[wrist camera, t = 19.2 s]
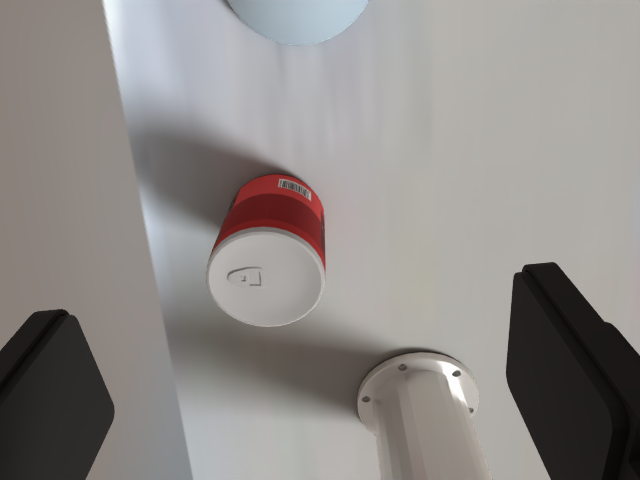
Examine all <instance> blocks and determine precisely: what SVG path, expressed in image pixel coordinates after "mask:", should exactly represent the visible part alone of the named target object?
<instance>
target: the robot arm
mask: <svg viewBox="0 0 640 480" xmlns="http://www.w3.org/2000/svg"><path fill="white" fill-rule="evenodd" d="M506 378H507V383H508V386H509V389H510V391H511V393H512V396H513V398H514V400H515V402H516V404H517V407H518V409H519V411H520V413H521V415H522V417H523V420H524V422H525V424H526V426H527V428H528V431H529V433H530V435H531V437H532V439H533V442H534V444H535V446H536V448H537V450H538V452H539V455H540V457H541V459H542V461H543V463H544V466H545V468H546V470H547V472H548V474H549V476H550V479H551V480H640V356H639V354H638V353H637V352H636V351H635V350H634V348H633V347H632V346H631V345H630V344H629V343H628V341H627V340H626V339H625V338H624V337H623V335H622V334H621V333H620V332H619V331H618V329H617V328H615V327H614V326H613V325H612V324H610V323H608V322H604V321H603V320H602V318H601V317H600V316H599V315H598V313H597V312H596V311H595V310H594V309H593V307H592V306H591V305H590V304H589V302H588V301H587V300H586V299H585V298H584V296H583V295H582V294H581V293H580V292H579V290H578V289H577V288H576V287H575V285H574V284H573V283H572V282H571V281H570V279H569V278H568V277H567V276H566V275H565V273H564V272H563V271H562V270H561V268H560V267H559V266H558V265H557V264H556V263H554V262H549V263H539V264H528V265H525V266H524V267H523V269H522V272H518V273H515V275H514V279H513V290H512V303H511V315H510V328H509V340H508V353H507V365H506ZM357 405H358V412H359V417H360V419H361V421H362V423H363V424H364V426H365V427H366V428H367V429H368V430H369V431H370V432H371V433H373V434H374V435H375V436H376V442H377V450H378V458H379V467H380V475H381V480H493V479H492V476H491V473H490V470H489V467H488V464H487V462H486V459H485V456H484V453H483V450H482V447H481V444H480V441H479V438H478V435H477V432H476V429H475V426H474V424H473V421H472V418H473V416H474V415H475V413H476V411H477V408H478V405H479V393H478V388H477V385H476V382H475V380H474V378H473V376H472V375H471V373H470V372H469V370H468V369H467V368H465V367H464V366H463V365H462V364H461V363H459V362H458V361H456V360H454V359H452V358H450V357H447V356H444V355H440V354H435V353H424V352H418V353H408V354H404V355H400V356H396V357H394V358H392V359H389V360H387V361H385V362H383V363H382V364H380V365H378V366H377V367H375V368H374V369H373V370H372V371H371V372H370V373H369V374H368V375H367V376H366V378H365V379H364V380H363V382H362V384H361V386H360V388H359V391H358V396H357ZM113 419H114V405H113V402H112V400H111V397H110V395H109V393H108V390H107V388H106V385H105V383H104V381H103V378H102V376H101V374H100V371H99V369H98V367H97V364H96V362H95V360H94V357H93V355H92V352H91V350H90V348H89V345H88V343H87V341H86V338H85V336H84V334H83V332H82V329H81V327H80V325H79V322H78V320H77V318H76V317H75V316H73V315H69V313H68V312H67V311H66V310H63V309H58V310H48V311H38V312H35V313H33V314H32V315H31V316H30V317H29V318H28V319H27V320H26V322H25V323H24V324H23V325H22V326H21V327H20V329H19V330H18V331H17V332H16V333H15V334H14V336H13V337H12V338H11V339H10V340H9V341H8V343H7V344H6V345H5V346H4V347H3V348H2V350H1V351H0V480H85V479H86V477H87V475H88V473H89V471H90V469H91V467H92V464H93V462H94V460H95V458H96V456H97V454H98V452H99V450H100V448H101V445H102V443H103V441H104V439H105V437H106V435H107V432H108V430H109V428H110V426H111V424H112V422H113Z"/></svg>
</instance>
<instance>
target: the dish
mask: <svg viewBox="0 0 640 480" xmlns="http://www.w3.org/2000/svg"><path fill="white" fill-rule="evenodd" d="M227 1H228V3H229V4H230V6H231V7H232V9H233V10H234V12H235V13H236V14H237V15H238V16H239V18H240V19H241V20H242V21H243V22H244V23H245V24H247V25H248V26H249V27H250V28H251V29H253V30H254V31H255V32H257V33H258V34H260V35H262V36H264V37H265V38H267V39H270V40H272V41H275V42H278V43H282V44H287V45H296V46H300V45H311V44H316V43H320V42H323V41H325V40H328V39H330V38H332V37H334V36H336V35H338V34H339V33H341V32H342V31H343V30H345V29H346V28H347V27H348V26H350V25H351V24H352V23H353V22H354V21H355V20H356V18H357V17H358V16H359V15H360V14H361V12H362V11H363V9H364V8H365V6H366V5H367V3H368V1H369V0H227Z"/></svg>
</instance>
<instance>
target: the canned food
mask: <svg viewBox="0 0 640 480" xmlns="http://www.w3.org/2000/svg"><path fill="white" fill-rule="evenodd" d="M206 282H207V286H208V290H209V292H210V295H211V297H212V299H213V300H214V301H215V303H216V304H217V305H218V306H219V307H220V308H221V309H222V310H223V311H224V312H225V313H226V314H228V315H230V316H231V317H233V318H235V319H236V320H239V321H241V322H244V323H246V324H251V325H255V326H263V327H273V326H281V325H286V324H290V323H292V322H295V321H297V320H299V319H301V318H302V317H304V316H306V315H307V314H308V313H309V312H310V311H311V310H312V309H314V308H315V306H316V305H317V303H318V302H319V300H320V298H321V295H322V293H323V289H324V284H325V228H324V210H323V207H322V204H321V201H320V200H319V198H318V196H317V195H316V194H315V192H314V191H313V190H312V189H311V188H310V187H309V186H308V185H306V184H305V183H304V182H302V181H300V180H298V179H296V178H294V177H291V176H287V175H281V174H271V175H265V176H261V177H258V178H256V179H254V180H252V181H250V182H248V183H247V184H246V185H244V186H243V187H242V188H241V189H240V190H239V191H238V192H237V193H236V195H235V197H234V199H233V201H232V203H231V206H230V208H229V210H228V213H227V215H226V218H225V220H224V223H223V225H222V227H221V230H220V232H219V235H218V237H217V240H216V242H215V245H214V247H213V249H212V253H211V255H210V258H209V262H208V266H207V271H206Z"/></svg>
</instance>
